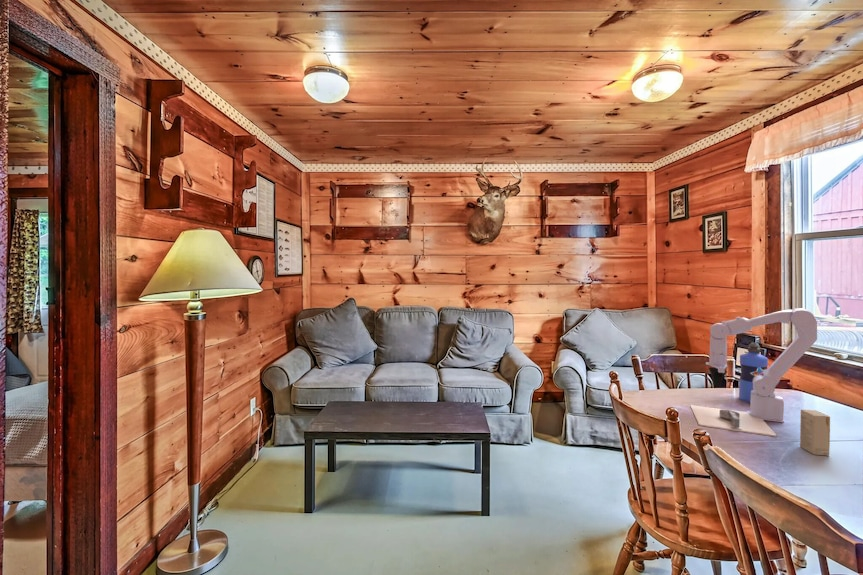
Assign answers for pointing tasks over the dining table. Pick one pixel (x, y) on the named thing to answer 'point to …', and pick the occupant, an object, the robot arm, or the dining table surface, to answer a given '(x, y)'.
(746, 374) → the water bottle
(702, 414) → the base
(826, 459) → the dining table surface
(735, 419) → the twist lock
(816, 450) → the skincare box
